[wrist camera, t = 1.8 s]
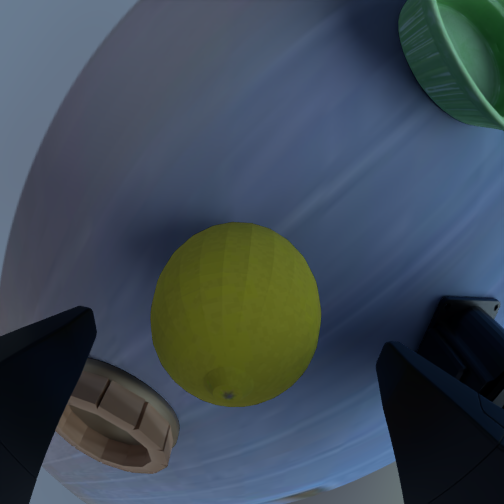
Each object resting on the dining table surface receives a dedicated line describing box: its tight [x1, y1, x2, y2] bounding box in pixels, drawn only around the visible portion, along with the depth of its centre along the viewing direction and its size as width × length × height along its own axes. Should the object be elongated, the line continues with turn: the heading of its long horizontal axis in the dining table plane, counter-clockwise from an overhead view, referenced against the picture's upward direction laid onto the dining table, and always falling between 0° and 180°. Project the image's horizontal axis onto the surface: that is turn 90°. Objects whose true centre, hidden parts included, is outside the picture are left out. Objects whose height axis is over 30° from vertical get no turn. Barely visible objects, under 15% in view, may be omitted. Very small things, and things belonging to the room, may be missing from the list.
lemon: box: [151, 222, 321, 407], centre depth 10 cm, size 6×6×8 cm
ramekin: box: [398, 0, 504, 131], centre depth 7 cm, size 9×9×4 cm
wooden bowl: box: [55, 358, 180, 474], centre depth 16 cm, size 11×11×3 cm
